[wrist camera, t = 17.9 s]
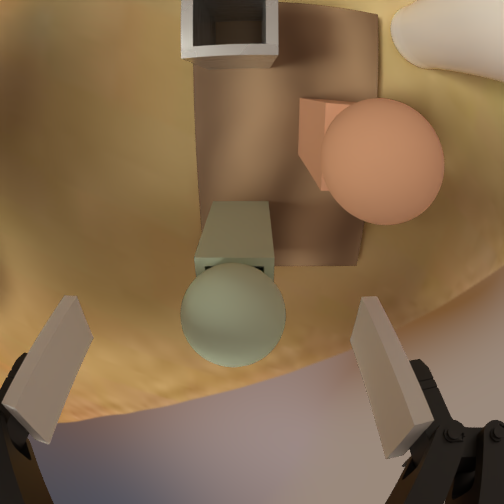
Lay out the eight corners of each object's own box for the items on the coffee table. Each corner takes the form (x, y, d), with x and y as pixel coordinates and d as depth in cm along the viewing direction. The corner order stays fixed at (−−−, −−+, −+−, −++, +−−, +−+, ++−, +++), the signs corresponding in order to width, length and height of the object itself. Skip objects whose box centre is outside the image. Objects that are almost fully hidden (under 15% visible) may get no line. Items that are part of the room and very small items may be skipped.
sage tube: (215, 249, 24) (201, 318, 17) (213, 201, 22) (194, 257, 16) (267, 249, 24) (272, 318, 17) (268, 201, 22) (274, 257, 15)
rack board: (206, 258, 26) (204, 265, 25) (196, 9, 16) (193, 5, 15) (352, 258, 26) (356, 265, 25) (371, 17, 16) (377, 14, 15)
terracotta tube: (297, 154, 21) (320, 190, 14) (299, 97, 19) (325, 102, 12) (353, 157, 21) (399, 194, 14) (356, 102, 19) (409, 113, 12)
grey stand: (208, 69, 18) (181, 58, 11) (208, 16, 16) (181, -22, 9) (269, 68, 18) (278, 55, 11) (269, 14, 16) (277, -26, 9)
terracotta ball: (306, 197, 14) (331, 248, 10) (311, 90, 12) (344, 90, 8) (401, 201, 14) (452, 248, 10) (412, 104, 12) (477, 118, 8)
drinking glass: (377, 67, 18) (530, 65, 5) (378, -11, 15) (506, -79, 2) (450, 86, 18) (602, 123, 5) (451, 14, 15) (593, 1, 2)
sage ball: (194, 318, 18) (181, 385, 14) (184, 244, 16) (161, 306, 11) (279, 319, 18) (286, 387, 14) (283, 243, 16) (295, 307, 11)
